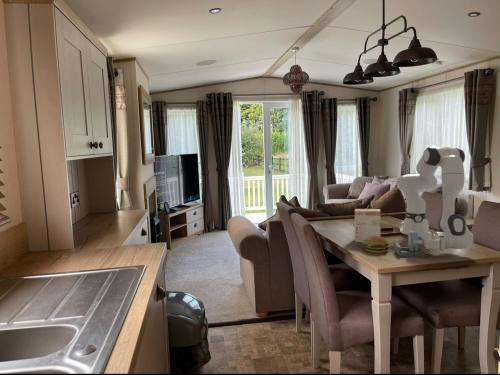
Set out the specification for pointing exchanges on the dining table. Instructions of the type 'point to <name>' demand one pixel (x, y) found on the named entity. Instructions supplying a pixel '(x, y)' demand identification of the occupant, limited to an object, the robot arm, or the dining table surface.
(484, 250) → the dining table surface
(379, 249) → the food
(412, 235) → the pale blue rectangular prism
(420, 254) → the rail channel
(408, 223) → the robot arm
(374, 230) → the coffeecake box
